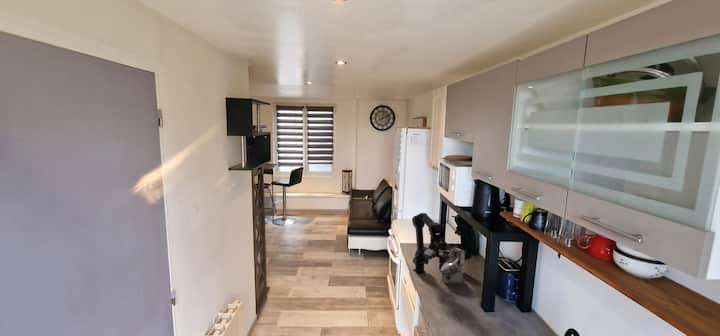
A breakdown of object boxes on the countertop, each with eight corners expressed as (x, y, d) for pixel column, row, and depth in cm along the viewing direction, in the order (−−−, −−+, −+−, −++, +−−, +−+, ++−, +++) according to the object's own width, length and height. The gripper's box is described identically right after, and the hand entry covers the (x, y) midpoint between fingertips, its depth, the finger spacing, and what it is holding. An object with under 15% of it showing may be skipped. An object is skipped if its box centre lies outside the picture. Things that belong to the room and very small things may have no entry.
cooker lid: (438, 273, 190) (436, 270, 191) (445, 265, 201) (443, 262, 202) (454, 264, 183) (452, 261, 184) (461, 257, 194) (459, 254, 195)
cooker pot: (436, 283, 190) (436, 274, 189) (445, 272, 204) (445, 264, 203) (457, 290, 182) (458, 281, 181) (465, 278, 196) (466, 270, 195)
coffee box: (464, 272, 205) (466, 250, 203) (459, 275, 201) (461, 253, 198) (453, 267, 212) (454, 246, 210) (448, 270, 208) (449, 248, 205)
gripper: (414, 242, 183) (413, 265, 186) (441, 252, 170) (439, 277, 173) (425, 238, 191) (423, 260, 194) (450, 247, 178) (449, 270, 180)
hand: (433, 267), depth 185 cm, fingers open, 9 cm apart
